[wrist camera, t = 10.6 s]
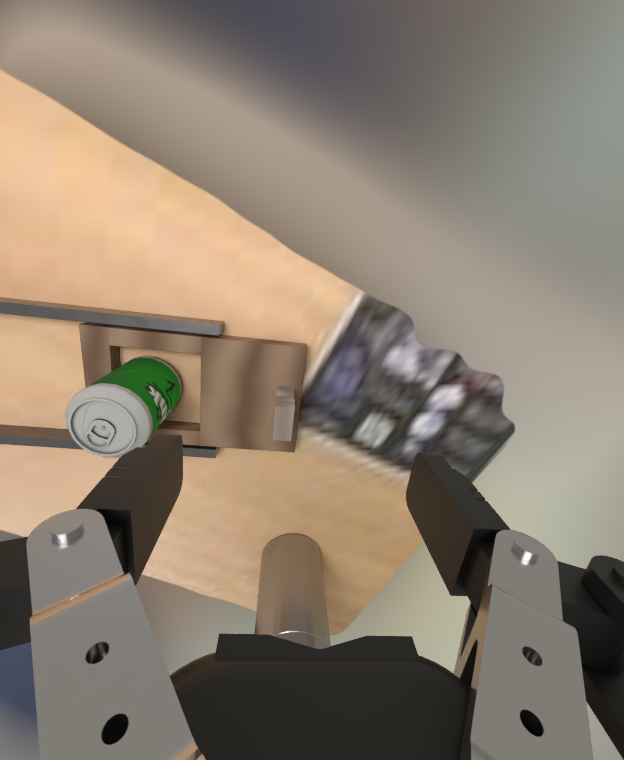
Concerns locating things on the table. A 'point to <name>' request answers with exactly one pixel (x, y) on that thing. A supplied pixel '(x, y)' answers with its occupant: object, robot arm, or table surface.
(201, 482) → the table surface
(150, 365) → the soda can
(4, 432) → the lane rails
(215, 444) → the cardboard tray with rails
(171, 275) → the table surface
